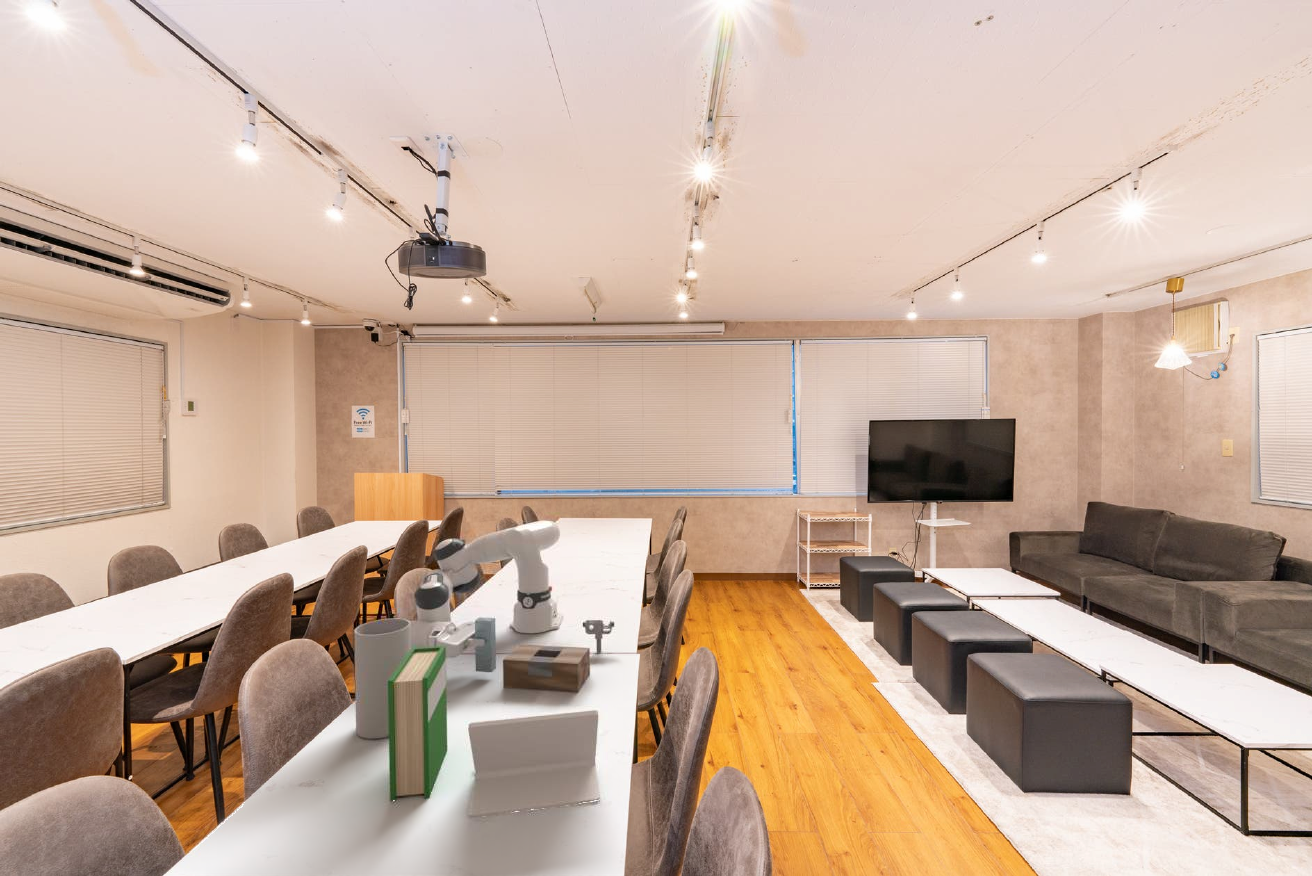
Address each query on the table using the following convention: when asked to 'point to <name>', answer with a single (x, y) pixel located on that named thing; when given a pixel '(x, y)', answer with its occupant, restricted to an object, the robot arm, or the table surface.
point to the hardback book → (417, 721)
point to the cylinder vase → (377, 671)
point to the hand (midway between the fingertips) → (488, 639)
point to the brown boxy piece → (546, 668)
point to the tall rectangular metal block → (487, 652)
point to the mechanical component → (597, 630)
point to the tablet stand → (533, 763)
